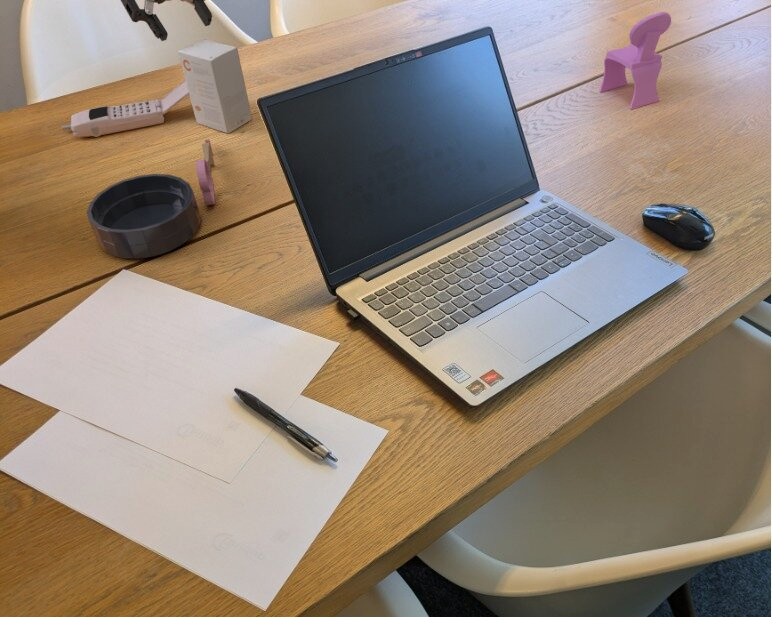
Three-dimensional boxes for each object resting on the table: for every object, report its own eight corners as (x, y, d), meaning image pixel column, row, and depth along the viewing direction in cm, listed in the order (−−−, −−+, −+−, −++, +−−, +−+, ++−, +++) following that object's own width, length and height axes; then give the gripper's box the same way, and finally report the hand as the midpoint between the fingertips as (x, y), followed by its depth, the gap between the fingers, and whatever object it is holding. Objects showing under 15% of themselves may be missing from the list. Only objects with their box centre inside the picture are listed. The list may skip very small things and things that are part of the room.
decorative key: (218, 162, 113) (214, 210, 96) (211, 163, 113) (205, 211, 96) (209, 123, 109) (203, 166, 93) (201, 124, 109) (194, 167, 93)
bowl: (129, 276, 87) (117, 245, 84) (82, 232, 95) (69, 203, 91) (220, 228, 94) (212, 199, 90) (169, 191, 102) (160, 163, 98)
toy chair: (628, 81, 122) (646, -4, 112) (663, 99, 116) (685, 11, 106) (592, 92, 119) (607, 5, 109) (626, 111, 114) (645, 21, 103)
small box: (253, 119, 118) (238, 46, 109) (227, 134, 114) (210, 60, 105) (221, 109, 122) (204, 38, 113) (195, 123, 118) (176, 51, 109)
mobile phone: (200, 85, 116) (50, 112, 110) (208, 116, 120) (63, 144, 114) (196, 72, 120) (51, 98, 115) (203, 103, 124) (64, 129, 118)
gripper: (95, -62, 103) (153, 30, 104) (175, -81, 109) (228, 5, 111) (91, -31, 109) (146, 55, 111) (167, -51, 116) (218, 30, 118)
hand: (187, 30), depth 111 cm, fingers open, 8 cm apart
